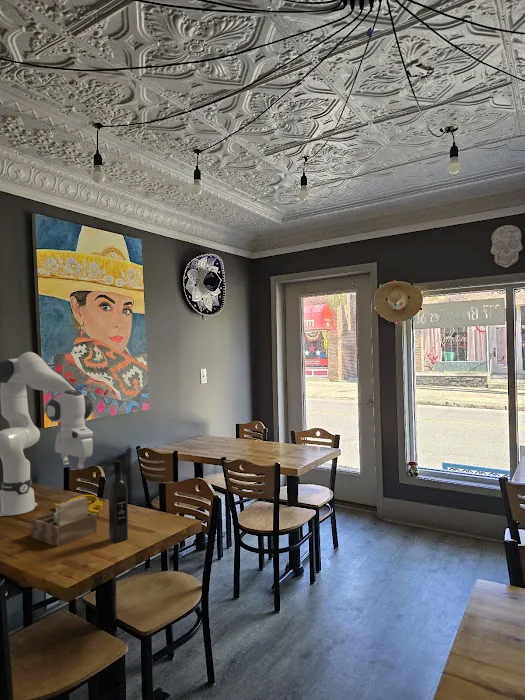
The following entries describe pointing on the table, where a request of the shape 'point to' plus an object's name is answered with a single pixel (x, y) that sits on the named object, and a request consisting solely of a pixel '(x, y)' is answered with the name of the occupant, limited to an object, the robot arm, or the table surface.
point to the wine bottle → (118, 506)
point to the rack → (62, 529)
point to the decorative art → (90, 503)
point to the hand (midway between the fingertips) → (73, 466)
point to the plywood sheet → (71, 511)
